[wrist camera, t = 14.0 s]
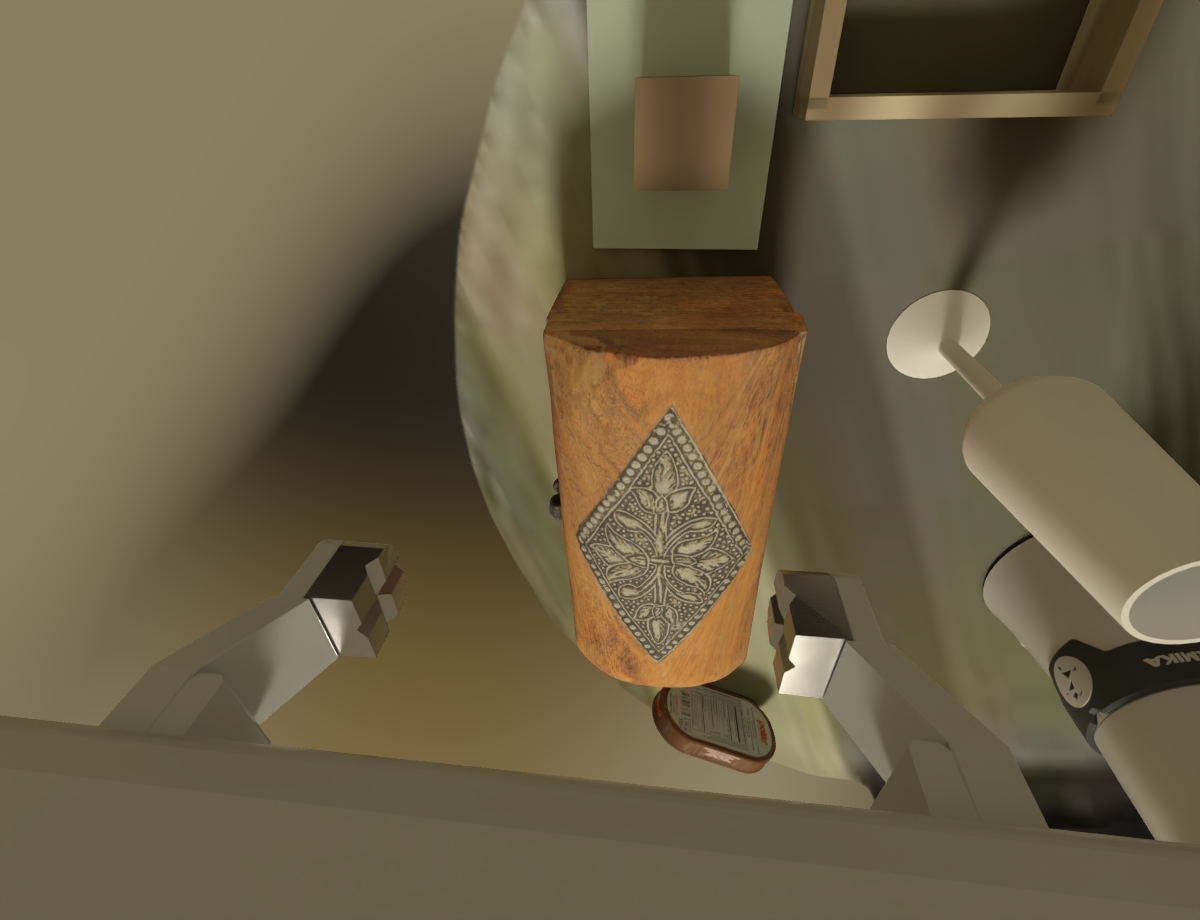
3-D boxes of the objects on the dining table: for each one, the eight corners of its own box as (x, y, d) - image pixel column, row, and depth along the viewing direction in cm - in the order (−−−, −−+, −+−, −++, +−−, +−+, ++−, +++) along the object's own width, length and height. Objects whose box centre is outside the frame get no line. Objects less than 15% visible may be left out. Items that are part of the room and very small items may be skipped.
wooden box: (551, 272, 39) (502, 352, 28) (786, 270, 37) (834, 356, 26) (577, 563, 57) (553, 684, 45) (738, 572, 55) (755, 700, 44)
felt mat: (795, -32, 28) (797, -33, 28) (756, 247, 37) (757, 249, 36) (587, -23, 30) (586, -24, 29) (594, 245, 38) (593, 248, 37)
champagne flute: (1009, 335, 38) (1357, 609, 19) (918, 395, 41) (1134, 680, 22) (958, 268, 36) (1291, 499, 17) (866, 337, 39) (1054, 597, 20)
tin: (652, 678, 67) (649, 747, 60) (662, 665, 65) (661, 734, 58) (760, 714, 69) (769, 784, 62) (773, 702, 67) (785, 773, 60)
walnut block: (729, 74, 31) (739, 75, 26) (719, 173, 34) (727, 190, 29) (641, 76, 31) (635, 77, 26) (639, 173, 34) (633, 190, 29)
